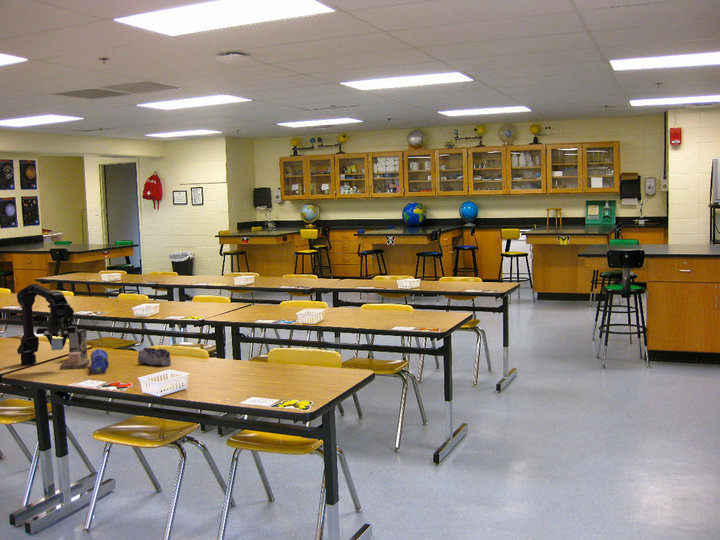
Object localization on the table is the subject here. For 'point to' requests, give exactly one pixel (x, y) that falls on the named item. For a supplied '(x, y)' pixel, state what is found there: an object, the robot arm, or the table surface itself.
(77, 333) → the coffee box
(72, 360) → the terracotta block
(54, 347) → the slate block
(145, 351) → the geode
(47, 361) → the table surface
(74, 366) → the plinth
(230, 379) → the table surface
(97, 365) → the pencil case
